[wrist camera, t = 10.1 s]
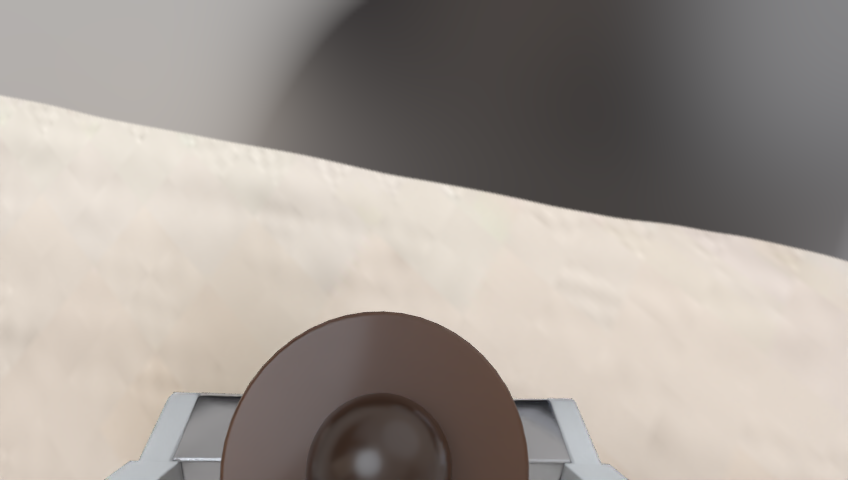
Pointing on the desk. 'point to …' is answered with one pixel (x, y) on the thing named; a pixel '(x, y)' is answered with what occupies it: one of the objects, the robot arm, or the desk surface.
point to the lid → (376, 408)
